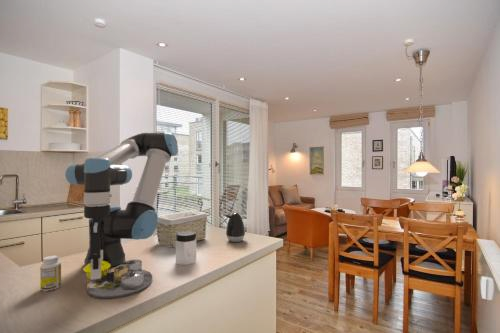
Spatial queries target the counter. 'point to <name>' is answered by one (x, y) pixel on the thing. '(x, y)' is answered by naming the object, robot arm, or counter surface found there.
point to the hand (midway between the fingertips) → (97, 273)
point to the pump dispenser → (235, 228)
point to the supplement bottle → (50, 273)
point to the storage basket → (180, 226)
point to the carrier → (121, 281)
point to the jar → (186, 247)
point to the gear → (104, 269)
